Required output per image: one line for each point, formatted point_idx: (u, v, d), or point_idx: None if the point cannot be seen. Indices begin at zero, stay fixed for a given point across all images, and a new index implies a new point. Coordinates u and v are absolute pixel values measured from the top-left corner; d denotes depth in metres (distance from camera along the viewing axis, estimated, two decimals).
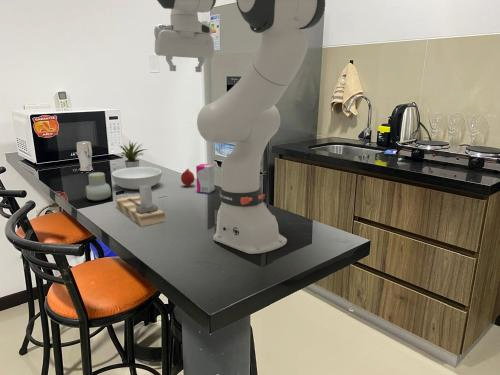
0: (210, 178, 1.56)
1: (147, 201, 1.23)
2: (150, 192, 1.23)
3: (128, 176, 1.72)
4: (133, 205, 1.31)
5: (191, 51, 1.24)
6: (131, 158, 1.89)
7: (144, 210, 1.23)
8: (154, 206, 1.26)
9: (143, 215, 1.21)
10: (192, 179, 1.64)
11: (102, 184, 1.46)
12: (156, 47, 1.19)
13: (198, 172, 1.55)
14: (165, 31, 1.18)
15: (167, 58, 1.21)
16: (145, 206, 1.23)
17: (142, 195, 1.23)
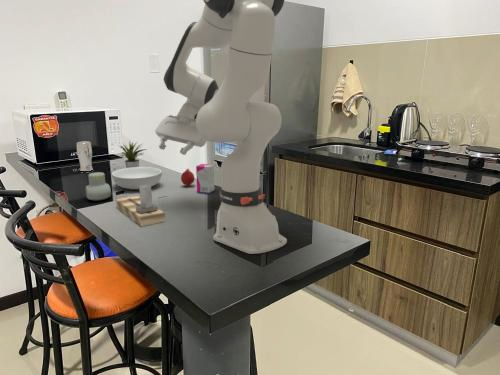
0: (210, 178, 1.56)
1: (147, 201, 1.23)
2: (150, 192, 1.23)
3: (128, 176, 1.72)
4: (133, 205, 1.31)
5: (180, 133, 1.31)
6: (131, 158, 1.89)
7: (144, 210, 1.23)
8: (154, 206, 1.26)
9: (143, 215, 1.21)
10: (192, 179, 1.64)
11: (102, 184, 1.46)
12: None
13: (198, 172, 1.55)
14: (168, 117, 1.37)
15: None
16: (145, 206, 1.23)
17: (142, 195, 1.23)
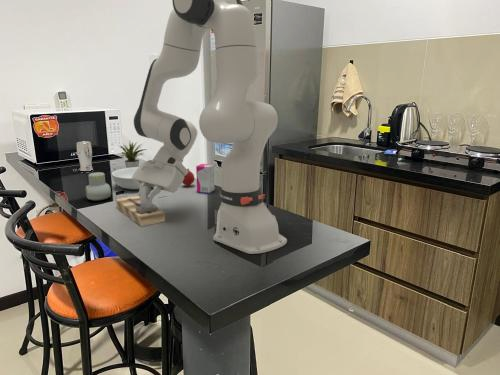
0: (210, 178, 1.56)
1: (147, 201, 1.23)
2: None
3: (128, 176, 1.72)
4: (133, 205, 1.31)
5: (153, 179, 1.24)
6: (131, 158, 1.89)
7: (144, 210, 1.23)
8: (154, 206, 1.26)
9: (143, 215, 1.21)
10: (192, 179, 1.64)
11: (102, 184, 1.46)
12: None
13: (198, 172, 1.55)
14: (145, 162, 1.31)
15: None
16: (145, 206, 1.23)
17: (142, 195, 1.23)
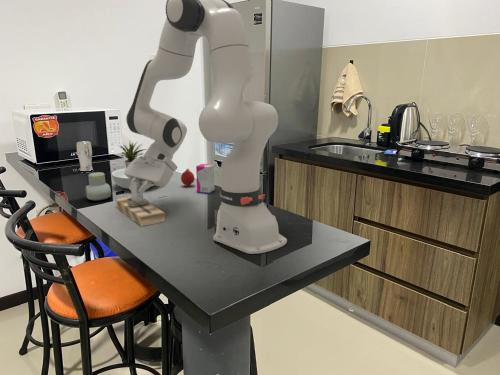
0: (210, 178, 1.56)
1: (138, 196, 1.29)
2: None
3: None
4: None
5: (144, 174, 1.30)
6: (131, 158, 1.89)
7: (135, 204, 1.29)
8: (144, 200, 1.32)
9: (143, 215, 1.21)
10: (192, 179, 1.64)
11: (102, 184, 1.46)
12: None
13: (198, 172, 1.55)
14: (137, 158, 1.37)
15: None
16: (136, 200, 1.29)
17: (133, 190, 1.29)
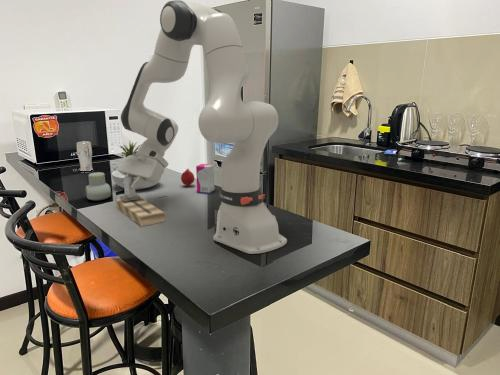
0: (210, 178, 1.56)
1: (131, 191, 1.35)
2: None
3: None
4: (133, 205, 1.31)
5: (136, 170, 1.35)
6: None
7: (128, 199, 1.34)
8: (137, 196, 1.37)
9: (143, 215, 1.21)
10: (192, 179, 1.64)
11: (102, 184, 1.46)
12: None
13: (198, 172, 1.55)
14: (130, 155, 1.43)
15: None
16: (129, 195, 1.35)
17: (126, 186, 1.35)
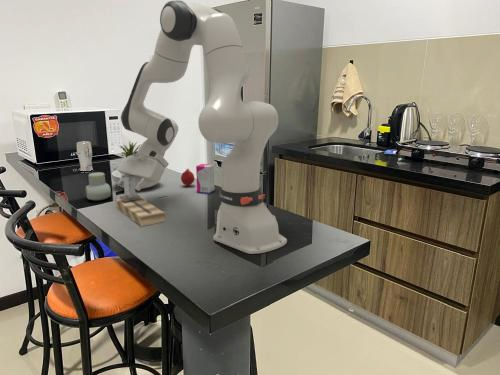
0: (210, 178, 1.56)
1: (131, 191, 1.35)
2: (133, 183, 1.35)
3: None
4: (133, 205, 1.31)
5: (136, 170, 1.35)
6: None
7: (128, 199, 1.34)
8: (137, 196, 1.37)
9: (143, 215, 1.21)
10: (192, 179, 1.64)
11: (102, 184, 1.46)
12: None
13: (198, 172, 1.55)
14: (130, 156, 1.43)
15: None
16: (129, 195, 1.35)
17: (126, 186, 1.35)
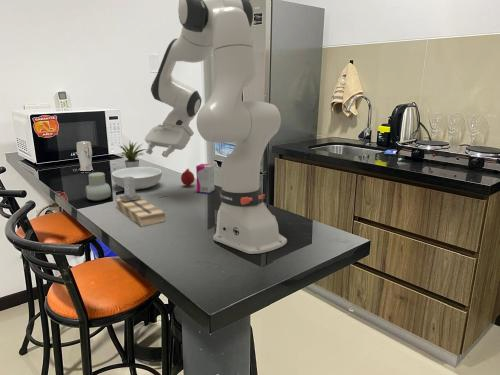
0: (210, 178, 1.56)
1: (131, 191, 1.35)
2: (133, 183, 1.35)
3: None
4: (133, 205, 1.31)
5: (163, 138, 1.43)
6: (131, 158, 1.89)
7: (128, 199, 1.34)
8: (137, 196, 1.37)
9: (143, 215, 1.21)
10: (192, 179, 1.64)
11: (102, 184, 1.46)
12: None
13: (198, 172, 1.55)
14: (156, 126, 1.50)
15: None
16: (129, 195, 1.35)
17: (126, 186, 1.35)
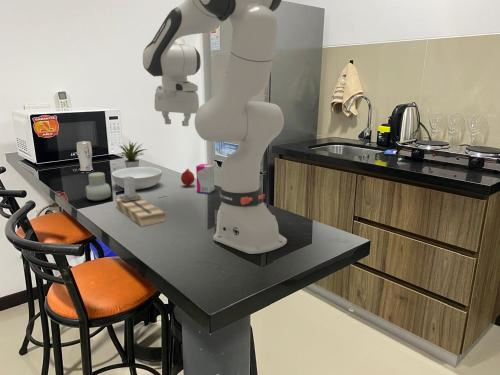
0: (210, 178, 1.56)
1: (131, 191, 1.35)
2: (133, 183, 1.35)
3: None
4: (133, 205, 1.31)
5: (174, 107, 1.34)
6: (131, 158, 1.89)
7: (128, 199, 1.34)
8: (137, 196, 1.37)
9: (143, 215, 1.21)
10: (192, 179, 1.64)
11: (102, 184, 1.46)
12: None
13: (198, 172, 1.55)
14: (157, 92, 1.38)
15: None
16: (129, 195, 1.35)
17: (126, 186, 1.35)
